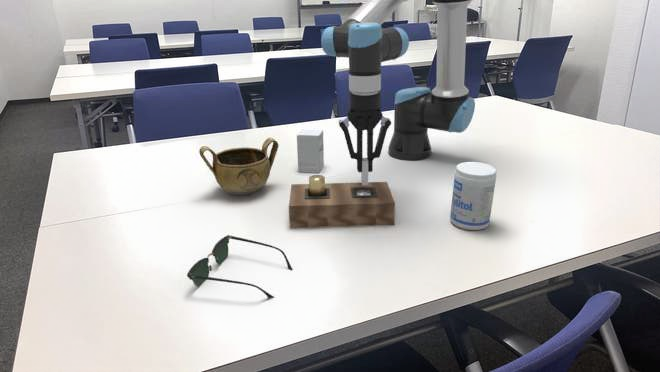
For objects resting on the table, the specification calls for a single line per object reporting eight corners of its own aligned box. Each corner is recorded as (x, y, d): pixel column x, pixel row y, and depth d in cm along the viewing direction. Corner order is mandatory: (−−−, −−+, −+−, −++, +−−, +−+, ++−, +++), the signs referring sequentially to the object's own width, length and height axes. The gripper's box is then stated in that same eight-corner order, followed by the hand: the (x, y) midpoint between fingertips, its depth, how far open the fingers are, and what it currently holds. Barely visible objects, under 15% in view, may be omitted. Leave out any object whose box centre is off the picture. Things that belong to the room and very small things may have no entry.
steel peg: (370, 208, 126) (370, 189, 124) (372, 215, 123) (372, 195, 120) (355, 208, 126) (355, 190, 124) (356, 215, 123) (356, 196, 120)
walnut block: (386, 201, 131) (387, 180, 129) (394, 224, 118) (395, 201, 116) (292, 204, 131) (291, 183, 128) (289, 227, 118) (288, 204, 115)
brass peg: (325, 194, 124) (324, 174, 122) (325, 200, 121) (324, 180, 119) (309, 194, 124) (309, 175, 122) (309, 200, 121) (308, 180, 118)
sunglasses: (267, 309, 88) (265, 286, 87) (188, 294, 93) (184, 273, 91) (298, 263, 103) (297, 243, 101) (228, 253, 108) (225, 233, 106)
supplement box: (319, 173, 153) (318, 135, 148) (297, 172, 154) (295, 134, 149) (324, 165, 159) (323, 129, 154) (303, 164, 161) (301, 128, 156)
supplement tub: (443, 224, 118) (447, 168, 113) (460, 211, 125) (465, 158, 119) (480, 235, 112) (486, 178, 107) (496, 221, 119) (503, 166, 113)
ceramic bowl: (212, 208, 129) (205, 156, 123) (199, 187, 143) (193, 139, 138) (288, 193, 138) (286, 144, 132) (270, 175, 152) (266, 129, 146)
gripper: (389, 87, 116) (387, 176, 125) (336, 89, 116) (338, 178, 125) (394, 94, 109) (392, 188, 118) (338, 96, 109) (340, 190, 118)
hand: (364, 183), depth 122 cm, fingers closed
